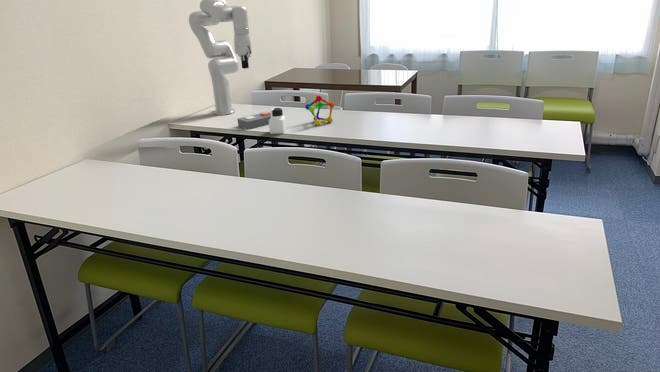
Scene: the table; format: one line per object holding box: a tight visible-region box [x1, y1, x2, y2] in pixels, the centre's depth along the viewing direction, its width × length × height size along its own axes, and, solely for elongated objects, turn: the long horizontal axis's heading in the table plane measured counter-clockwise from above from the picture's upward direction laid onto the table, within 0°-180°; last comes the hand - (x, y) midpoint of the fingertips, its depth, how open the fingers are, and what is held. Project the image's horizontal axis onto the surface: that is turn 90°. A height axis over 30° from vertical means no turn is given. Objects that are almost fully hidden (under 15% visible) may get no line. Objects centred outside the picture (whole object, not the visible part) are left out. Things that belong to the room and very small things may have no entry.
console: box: [236, 113, 271, 130], centre depth 263 cm, size 10×20×4 cm, turn 130°
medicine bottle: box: [268, 107, 287, 135], centre depth 245 cm, size 7×7×12 cm
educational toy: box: [305, 94, 336, 126], centre depth 258 cm, size 16×13×15 cm
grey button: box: [244, 115, 256, 120], centre depth 260 cm, size 4×4×4 cm
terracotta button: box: [259, 110, 271, 116], centre depth 265 cm, size 4×4×4 cm
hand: (245, 68), depth 258 cm, fingers closed
